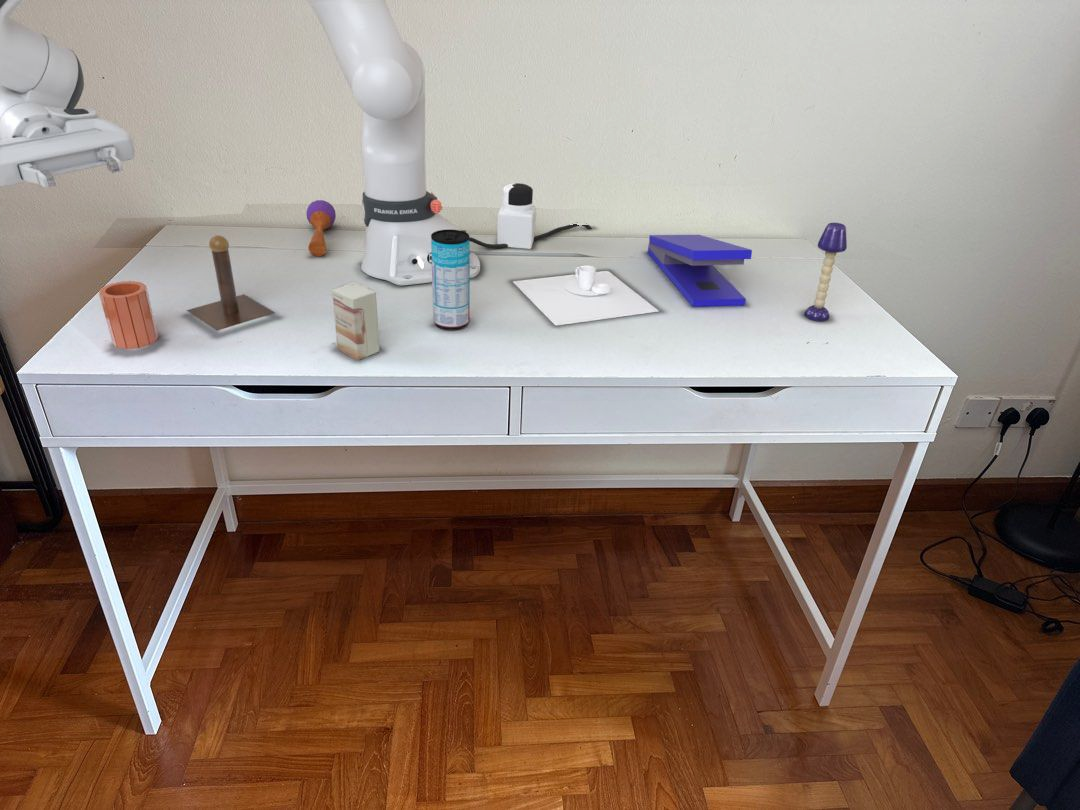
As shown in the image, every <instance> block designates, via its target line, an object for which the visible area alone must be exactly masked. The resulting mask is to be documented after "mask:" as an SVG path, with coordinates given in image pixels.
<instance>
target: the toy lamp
mask: <svg viewBox="0 0 1080 810" xmlns="http://www.w3.org/2000/svg"><path fill="white" fill-rule="evenodd" d="M847 239H848V238H847V227H846V225H845V224H843V223H841V222H828V223H827V225H826V226H825V228H824V230H823V232H822V234H821V236H820V238H819V240H818V242H817V248H818V249H819V250H821V251H823V252H824V258H823V261H822V264H823V266H822V267H821V274H820V276H819V282H818V284H817V291H816V292H815V299H814V302H813V305H810V306H808V307H807V308H806V309H805V311H804V313H803V315H804V317H805V318H807V319H808V320H810V321H814V322H827V321H829V319H830V312H829V310H828V309H827V308H826V307H825V305H826V298H827V296H828V290H829V287H830V284H829V283H830V282H831V279H832V277H831V275H832V273H833V270H834V269H833V268H834V267H833V266H834V265H835V258H836V257H837V253H843V252H845V251H846V250H847V248H848V247H847V246H848V243H847Z"/></svg>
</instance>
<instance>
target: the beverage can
mask: <svg viewBox="0 0 1080 810" xmlns="http://www.w3.org/2000/svg"><path fill="white" fill-rule="evenodd" d="M460 230H461V229H460ZM460 230H451V229H448V230H439V231H436V232H434V233H432V234H431V254H432V282H431V284H432V286H431V287H432V320H433V323H434V325H435V326H436V327H437V328H439V329H441V330H444V331H458V330H463V329H465V328H466V327H467V326H468V325H469V323H470V320H471V319H470V318H471V317H470V312H471V311H470V306H471V305H470V297H471V296H470V293H471V292H470V290H471V289H470V283H471V282H470V281H471V280H470V279H471V278H470V251H471V250H470V248H471V247H470V241H469V237H470V234H469V233H468V232H467V231H466V232H464V231H460Z"/></svg>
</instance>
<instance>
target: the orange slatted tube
mask: <svg viewBox="0 0 1080 810" xmlns="http://www.w3.org/2000/svg"><path fill="white" fill-rule="evenodd" d="M98 295H99V298H100V302H101V306H102V310H103V313H104V316H105V320H106V324H107V327H108V331H109V335H110V339H111V343H112V345H114V347H116V348H117V349H118V348H119V349H123V350H124V349H125V350H134V349H139V348H144V347H147V346H150V345H152V344H154V343H155V342H157V340H158V338H159V333H158V329H157V325H156V320H155V316H154V312H153V307H152V303H151V299H150V295H149V291H148V286H147V285H146V283H143V282H142V281H134V280H124V281H123V280H122V281H118V282H117V281H116V282H112V283H109V284H107V285H105V286H103V287H101V288H100V289H99V292H98Z"/></svg>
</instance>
